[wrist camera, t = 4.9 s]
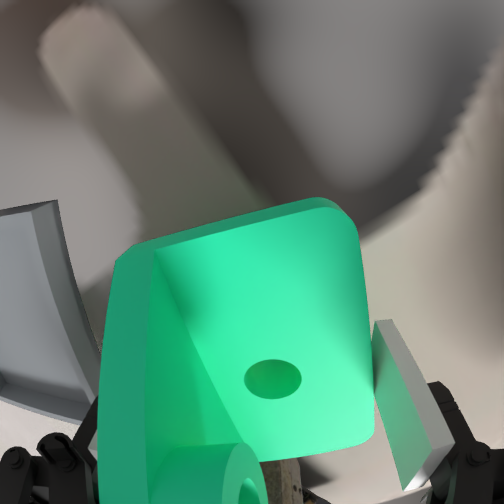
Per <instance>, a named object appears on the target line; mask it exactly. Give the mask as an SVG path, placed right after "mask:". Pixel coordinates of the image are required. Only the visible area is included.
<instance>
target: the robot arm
mask: <svg viewBox="0 0 504 504" xmlns="http://www.w3.org/2000/svg"><path fill="white" fill-rule="evenodd" d="M371 349H372V365H373V386H374V396H375V399H376V402H377V405H378V408H379V411H380V414H381V417H382V421H383V424H384V427H385V430H386V433H387V437H388V440H389V443H390V447H391V450H392V453H393V457H394V460H395V464H396V467H397V471H398V475H399V478H400V482H401V486H402V490H403V492H404V491H408V490H412V489H415V488H419V487H422V486H424V485H425V483H426V482H427V481H428V480H429V479H430V482H431V485H432V487H431V488H430V489H429V491H428V492H427V493H426V494H425V495H424V496H423V497H422V500H421V503H423V502H424V501H425V500H426V499H427V501H426V504H504V449H490V447H489V446H488V445H486V444H485V443H482V442H478V441H476V440H475V438H474V436H473V434H472V432H471V430H470V428H469V426H468V424H467V423H466V421H465V419H464V417H463V415H462V413H461V411H460V410H459V409H458V408H459V407H458V405H457V404H456V402H454V398H453V396H452V394H451V393H450V391H449V389H448V388H447V387H445V386H444V385H443V384H442V383H441V382H439V381H437V382H432V383H426V381H425V379H424V377H423V375H422V373H421V371H420V370H419V368H418V366H417V364H416V362H415V360H414V358H413V356H412V355H411V353H410V351H409V349H408V347H407V346H406V344H405V342H404V340H403V338H402V337H401V335H400V333H399V331H398V330H397V328H396V326H395V324H394V323H393V321H392V319H390V320H379V321H375V324H374V330H373V335H372V341H371ZM97 419H98V396H97V397H96V398H95V400H94V401H93V403H92V405H91V407H90V409H89V410H88V412H87V414H86V418H84V419H83V421H82V423H81V425H80V427H79V429H78V430H77V432H76V434H75V436H74V438H73V440H71V439H70V438H69V437H68V436H67V435H65V434H63V433H57V432H54V433H51V434H48V435H46V436H44V437H43V438H42V439H41V440H40V441H39V443H38V445H37V448H36V450H37V451H38V452H39V453H40V454H41V456H31V455H30V454H29V452H28V451H27V450H26V449H25V448H22V447H16V446H15V447H12V448H9V449H8V450H7V451H6V452H5V453H4V455H3V456H2V458H1V461H0V504H100V502H99V488H98V465H97ZM30 496H31V497H30Z"/></svg>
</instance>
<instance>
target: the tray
mask: <svg viewBox="0 0 504 504" xmlns="http://www.w3.org/2000/svg"><path fill="white" fill-rule="evenodd" d="M100 367H101V355H100V353H99V350H98V347H97V345H96V342H95V339H94V337H93V334H92V331H91V328H90V325H89V322H88V319H87V316H86V313H85V310H84V307H83V304H82V301H81V298H80V294H79V291H78V287H77V284H76V280H75V277H74V273H73V269H72V266H71V262H70V258H69V254H68V249H67V245H66V241H65V237H64V232H63V227H62V222H61V217H60V211H59V206H58V200H52V201H46V202H40V203H34V204H29V205H23V206H18V207H13V208H8V209H3V210H0V400H1V401H4V402H7V403H9V404H12V405H15V406H17V407H20V408H23V409H26V410H29V411H32V412H35V413H38V414H41V415H44V416H47V417H51V418H54V419H58V420H61V421H65V422H69V423H72V424H76V425H81V423H82V421H83V419H84V418H86V414H87V412H88V410H89V409H90V407H91V405H92V403H93V401H94V400H95V398H96V397H97V396H98V395H99V379H100Z"/></svg>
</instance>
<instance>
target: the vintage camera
mask: <svg viewBox="0 0 504 504" xmlns="http://www.w3.org/2000/svg"><path fill="white" fill-rule="evenodd" d="M259 464H260V467H261V470H262V473H263V477H264V481H265V485H266V491H267V497H268V504H331V503H329V502H328V501H326V500H325V499H323V498H321V497H319V496H317V495H315V494H314V493H313V492H311V491H310V490H308V489H307V488H305V487H303V486H302V485H301V477H300V466H299V463H298V460H297V457H296V458H289V459H282V460H274V461H265V462H259Z"/></svg>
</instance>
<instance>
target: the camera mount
mask: <svg viewBox="0 0 504 504" xmlns="http://www.w3.org/2000/svg"><path fill="white" fill-rule="evenodd" d="M373 433H374V386H373V365H372V349H371V335H370V324H369V313H368V304H367V295H366V286H365V278H364V271H363V263H362V256H361V250H360V243H359V237H358V232H357V229H356V227H355V224H354V223H353V222H352V220H351V219H350V218H349V217H348V216H347V215H346V214H345V212H344V211H343V210H342V209H341V208H340V207H339V206H338V205H337V204H336V203H334V202H332V201H330V200H329V199H326V198H321V197H313V198H307V199H303V200H299V201H295V202H291V203H287V204H283V205H279V206H275V207H271V208H267V209H263V210H259V211H255V212H251V213H247V214H243V215H239V216H235V217H232V218H228V219H224V220H220V221H217V222H213V223H209V224H206V225H202V226H198V227H195V228H191V229H187V230H184V231H180V232H177V233H173V234H170V235H166V236H163V237H159V238H156V239H152V240H149V241H145V242H142V243H138V244H135V245H133V246H131V247H130V248H129V249H128V250H127V251H126V252H125V253H124V254H122V255H121V256H120V257H119V258H118V259H117V260H116V261H115V266H114V272H113V277H112V283H111V289H110V295H109V301H108V308H107V314H106V322H105V329H104V338H103V346H102V356H101V367H100V379H99V395H98V419H97V465H98V488H99V502H100V504H268V497H267V491H266V485H265V481H264V477H263V473H262V470H261V467H260V464H259V462H265V461H274V460H282V459H289V458H296V457H303V456H309V455H314V454H320V453H325V452H330V451H335V450H340V449H344V448H349V447H353V446H356V445H359V444H361V443H363V442H365V441H367V440H368V439H369V438H370V437H371V436H372V435H373Z"/></svg>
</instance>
